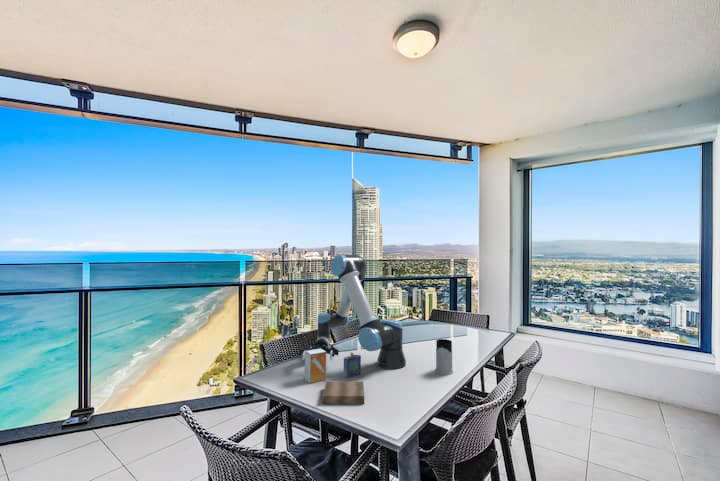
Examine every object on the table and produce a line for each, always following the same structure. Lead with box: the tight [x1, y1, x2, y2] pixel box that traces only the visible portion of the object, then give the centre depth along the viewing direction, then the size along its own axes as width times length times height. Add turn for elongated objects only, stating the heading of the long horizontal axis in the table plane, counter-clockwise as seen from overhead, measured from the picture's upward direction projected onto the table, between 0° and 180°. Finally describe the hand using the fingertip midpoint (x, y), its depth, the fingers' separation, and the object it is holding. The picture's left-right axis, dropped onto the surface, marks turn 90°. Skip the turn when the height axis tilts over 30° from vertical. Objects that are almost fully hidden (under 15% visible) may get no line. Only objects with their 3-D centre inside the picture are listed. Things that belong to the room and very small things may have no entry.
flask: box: [342, 351, 362, 379], centre depth 148 cm, size 9×3×11 cm, turn 121°
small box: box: [304, 348, 327, 384], centre depth 143 cm, size 8×6×13 cm
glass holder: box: [435, 338, 454, 376], centre depth 157 cm, size 9×14×15 cm, turn 152°
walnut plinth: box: [322, 381, 365, 405], centre depth 126 cm, size 16×14×3 cm
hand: (316, 357), depth 151 cm, fingers open, 13 cm apart
